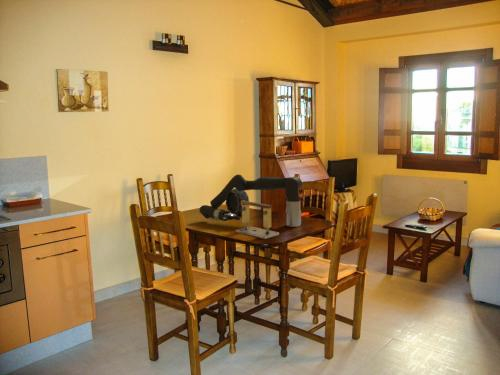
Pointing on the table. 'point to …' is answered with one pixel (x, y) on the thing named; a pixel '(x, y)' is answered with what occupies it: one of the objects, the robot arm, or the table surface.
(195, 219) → the table surface
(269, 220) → the fixed leg
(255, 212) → the table surface
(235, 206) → the dark treaded wheel
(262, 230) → the plate
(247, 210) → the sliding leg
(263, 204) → the beam
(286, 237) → the table surface
